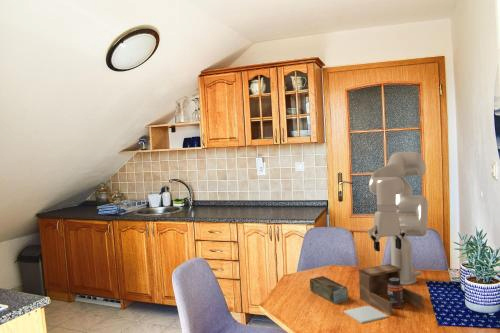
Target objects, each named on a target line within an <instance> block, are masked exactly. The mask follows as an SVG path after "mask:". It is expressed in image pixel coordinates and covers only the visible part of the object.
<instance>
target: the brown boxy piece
mask: <svg viewBox="0 0 500 333" xmlns="http://www.w3.org/2000/svg"><path fill="white" fill-rule="evenodd" d="M400 271H401V268H399V267H396V266H393V265H391V264H390V263H387V264H383V265H382V264H381V265H376V266H372V267H371V266H370V267H366V268H365V267H364V268H360V269H358V279H359V281H358V283H359V285H358V286H359V299H360V301H363V302H365V303H366V304H368V305H369V306H371V307H373V308H375V309H376V310H378V311H380V312H382V313H384V314H386V315H387V316H388V315H389V316H392V315H393V308H392V302H390V301H388V299H387V298H383V297H382V296H385V295H388V288H387V285H388V284H389V283H390V280H389V279H390V278H398V279H400ZM403 302H407V303H409V304H411V305H413V306H415V307H417V308H419V309H423V304H424V303H423V302H424V301H423V295H421V294H419V293H417V292H415V291H412V290H410V289H408V288H405V287H403Z"/></svg>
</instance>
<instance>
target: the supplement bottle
mask: <svg viewBox="0 0 500 333" xmlns="http://www.w3.org/2000/svg"><path fill="white" fill-rule="evenodd" d="M389 280H390V283H389V284H388V285H387V288H388V294H387V300H388V301H390V302H392V309H402V308H403V307H404V300H403V288H404V287H403V285H401V284H400V279H398V278H390V279H389Z"/></svg>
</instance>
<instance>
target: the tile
mask: <svg viewBox="0 0 500 333" xmlns="http://www.w3.org/2000/svg"><path fill="white" fill-rule="evenodd" d="M343 313H344V314H345V315H347V316H349V317H351V318H352V319H354V320H355V321H356V322H358V323H360V324H364V323H368V322H372V321H377V320H381V319H382V320H383V319H386V318H388V314H386V313H384V312H383V311H381V310H379V309H377V308H375V307H373V306H372V305H370V304H368V305H363V306H360V307H354V308H351V309H346V310H343Z"/></svg>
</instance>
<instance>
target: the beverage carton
mask: <svg viewBox="0 0 500 333" xmlns="http://www.w3.org/2000/svg"><path fill="white" fill-rule="evenodd" d="M309 288H310V292H312V293H314V294H315V295H318V296H319V297H320V298H323V299H325V300H326V301H328V302H329V303H332V304H334V305H336V304H339V303H343V302H347V301H349V293H348V292H349V291H348V287H346V286H344V285H343V284H341V283H339V282H336V281H335V280H332V279H330V278H329V277H326V276H324V275H321V276H317V277H313V278H310V279H309Z"/></svg>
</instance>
